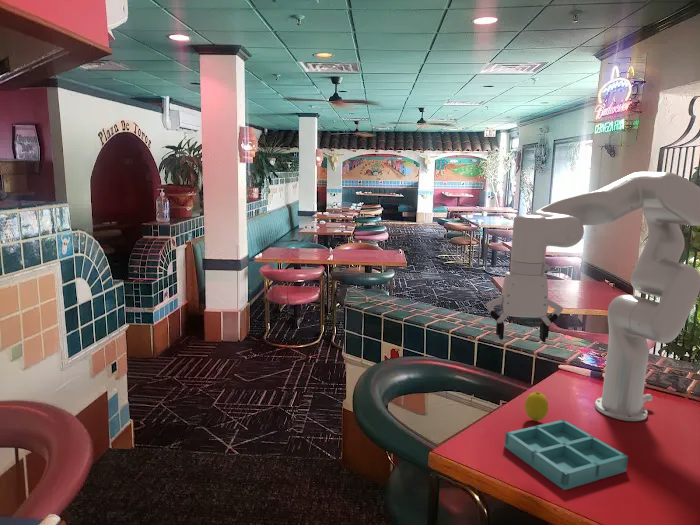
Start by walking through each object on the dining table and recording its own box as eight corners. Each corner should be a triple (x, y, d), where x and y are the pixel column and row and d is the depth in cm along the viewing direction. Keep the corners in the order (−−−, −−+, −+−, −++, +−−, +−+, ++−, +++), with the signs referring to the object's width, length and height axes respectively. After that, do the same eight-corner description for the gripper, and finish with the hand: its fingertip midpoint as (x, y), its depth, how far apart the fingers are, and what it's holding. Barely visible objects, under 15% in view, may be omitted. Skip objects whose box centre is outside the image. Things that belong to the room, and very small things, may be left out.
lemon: (548, 427, 130) (551, 397, 129) (525, 425, 131) (527, 395, 130) (544, 417, 136) (547, 388, 134) (522, 415, 137) (525, 386, 135)
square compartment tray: (562, 432, 128) (563, 419, 127) (626, 471, 112) (628, 456, 111) (504, 446, 121) (505, 432, 120) (564, 490, 105) (565, 474, 104)
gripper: (561, 266, 124) (555, 336, 127) (486, 264, 126) (482, 332, 129) (570, 273, 116) (563, 346, 120) (491, 270, 118) (486, 342, 122)
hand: (521, 339), depth 124 cm, fingers open, 9 cm apart
